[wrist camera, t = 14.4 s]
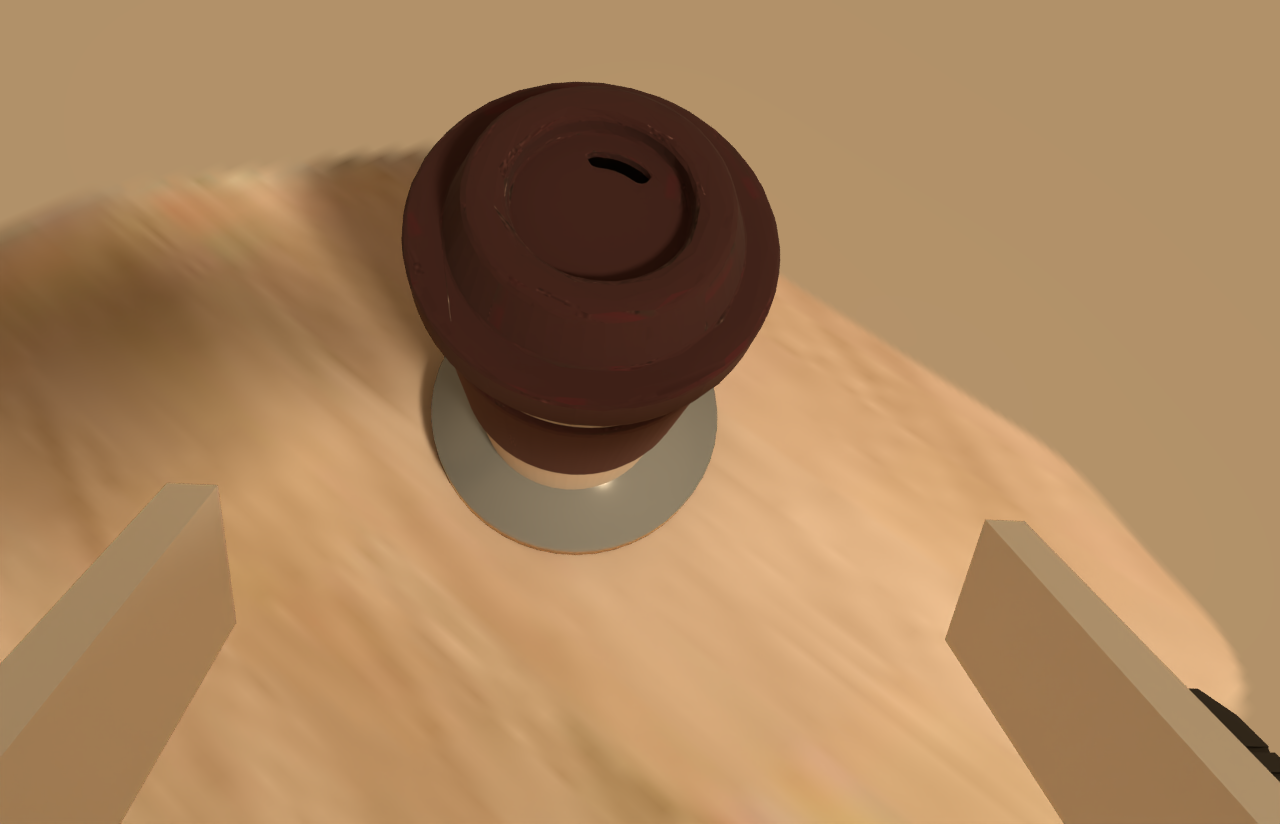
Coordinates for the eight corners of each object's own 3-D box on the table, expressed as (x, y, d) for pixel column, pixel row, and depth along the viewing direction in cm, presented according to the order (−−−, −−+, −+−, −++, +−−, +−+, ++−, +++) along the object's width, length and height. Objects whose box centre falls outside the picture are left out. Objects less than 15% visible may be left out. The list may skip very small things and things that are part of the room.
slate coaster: (383, 487, 32) (377, 479, 31) (506, 256, 36) (506, 242, 35) (655, 600, 32) (660, 596, 31) (746, 354, 36) (752, 343, 35)
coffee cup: (540, 575, 30) (553, 468, 16) (402, 380, 32) (308, 135, 18) (733, 437, 33) (880, 247, 19) (596, 266, 35) (641, -18, 21)
